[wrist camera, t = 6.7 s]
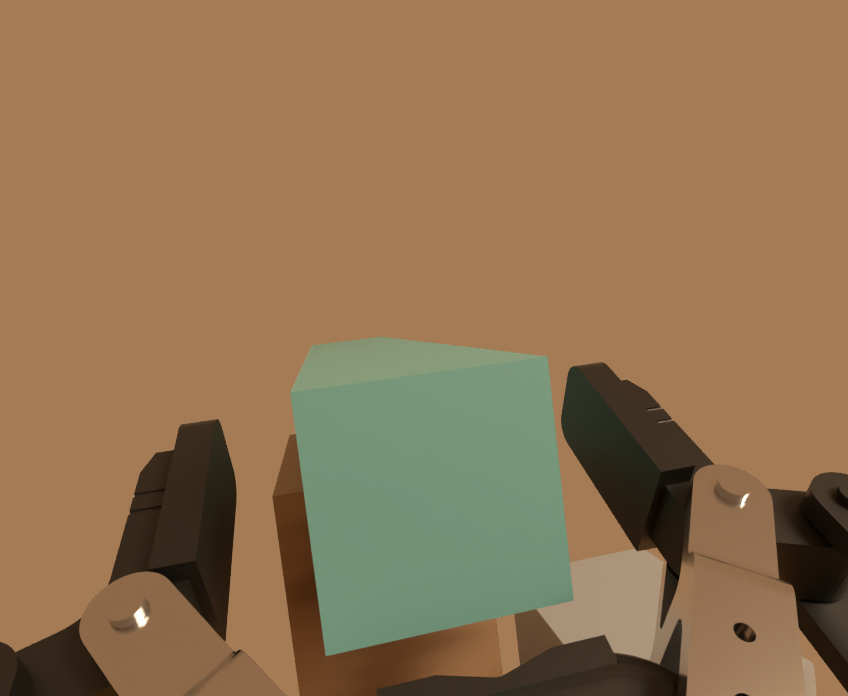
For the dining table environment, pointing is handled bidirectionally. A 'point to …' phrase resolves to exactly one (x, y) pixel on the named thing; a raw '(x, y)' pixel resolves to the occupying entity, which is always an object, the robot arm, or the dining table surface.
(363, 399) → the batten
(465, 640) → the stand tall
